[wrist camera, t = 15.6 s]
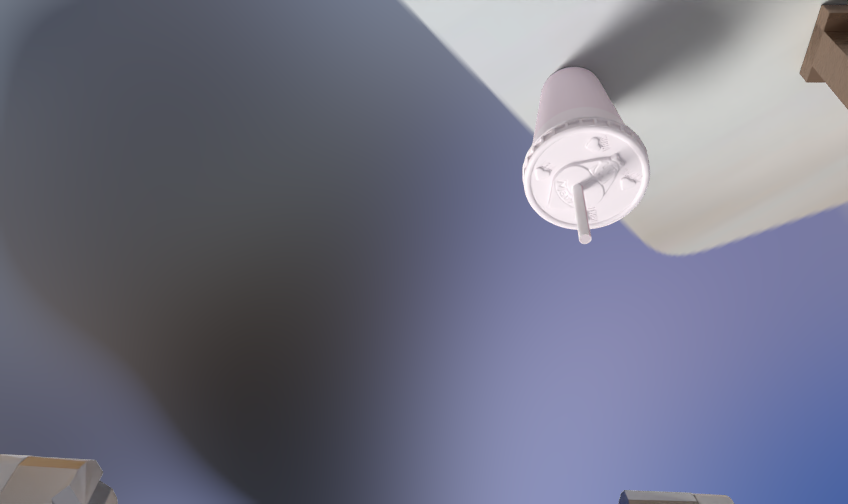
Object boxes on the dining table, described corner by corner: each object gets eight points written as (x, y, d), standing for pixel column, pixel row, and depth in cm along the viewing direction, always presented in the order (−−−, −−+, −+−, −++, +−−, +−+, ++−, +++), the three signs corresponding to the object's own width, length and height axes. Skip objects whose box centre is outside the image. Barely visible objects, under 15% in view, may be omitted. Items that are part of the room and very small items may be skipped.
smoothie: (497, 90, 43) (496, 225, 32) (584, 22, 40) (615, 146, 29) (560, 158, 46) (578, 305, 35) (646, 99, 43) (695, 240, 32)
